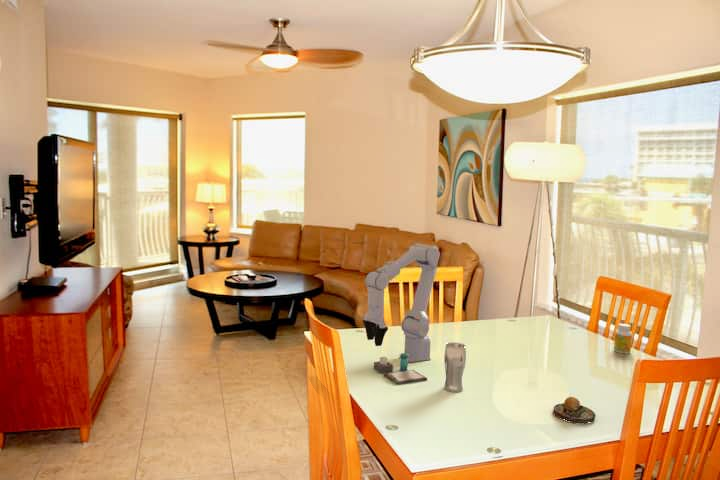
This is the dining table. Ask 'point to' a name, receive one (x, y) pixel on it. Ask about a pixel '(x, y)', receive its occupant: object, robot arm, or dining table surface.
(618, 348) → the supplement bottle
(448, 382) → the beer glass
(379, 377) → the dining table surface
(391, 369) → the button box
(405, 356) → the marker
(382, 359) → the button cap
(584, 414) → the dark base with ball
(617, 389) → the dining table surface
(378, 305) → the robot arm
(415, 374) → the grey flat tray
